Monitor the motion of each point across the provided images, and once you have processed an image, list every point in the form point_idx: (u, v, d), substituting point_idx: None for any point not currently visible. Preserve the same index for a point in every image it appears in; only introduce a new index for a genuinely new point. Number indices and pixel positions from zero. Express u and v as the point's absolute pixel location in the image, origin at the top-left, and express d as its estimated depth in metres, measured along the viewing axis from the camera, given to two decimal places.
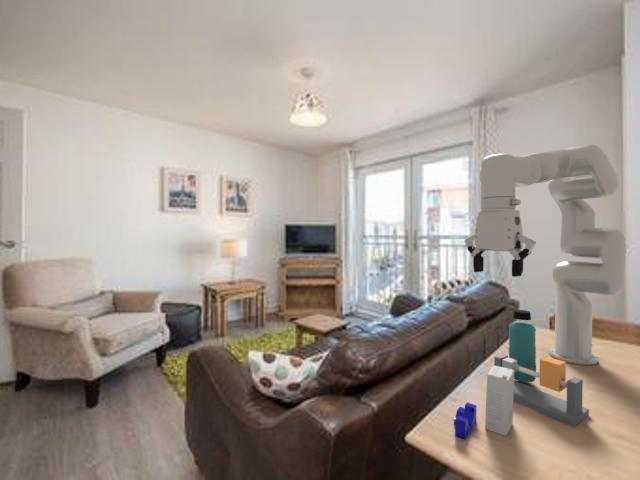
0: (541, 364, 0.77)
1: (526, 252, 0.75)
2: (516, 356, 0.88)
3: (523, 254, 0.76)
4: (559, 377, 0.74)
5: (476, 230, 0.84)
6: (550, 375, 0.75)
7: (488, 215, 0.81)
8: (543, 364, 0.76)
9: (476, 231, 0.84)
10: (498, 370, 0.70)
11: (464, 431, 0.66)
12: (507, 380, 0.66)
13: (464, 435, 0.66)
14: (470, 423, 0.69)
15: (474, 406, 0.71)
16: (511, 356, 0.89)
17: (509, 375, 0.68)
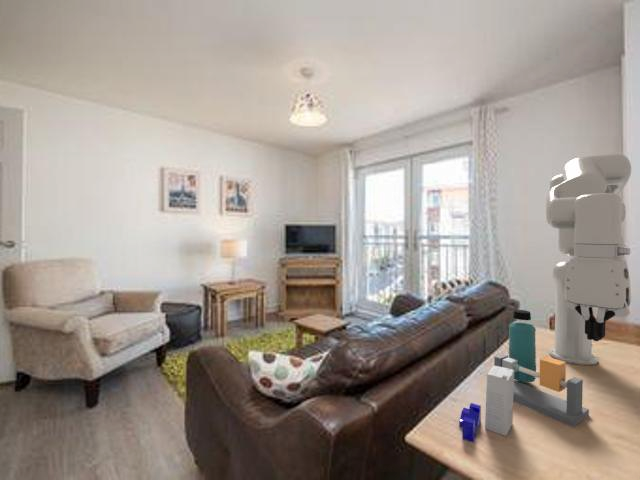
0: (541, 364, 0.77)
1: (611, 315, 0.66)
2: (516, 356, 0.88)
3: (607, 317, 0.66)
4: (559, 377, 0.74)
5: (567, 280, 0.71)
6: (550, 375, 0.75)
7: (586, 265, 0.68)
8: (543, 364, 0.76)
9: (567, 281, 0.71)
10: (498, 370, 0.70)
11: (472, 433, 0.65)
12: (507, 380, 0.66)
13: (472, 437, 0.65)
14: (476, 424, 0.69)
15: (479, 406, 0.71)
16: (511, 356, 0.89)
17: (509, 375, 0.68)
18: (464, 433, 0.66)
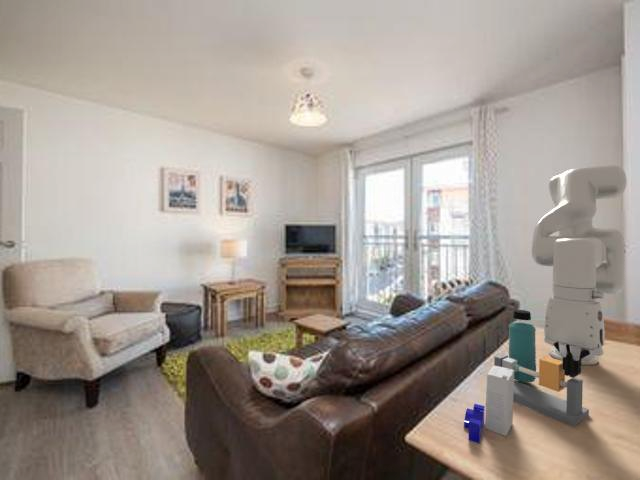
0: (540, 364, 0.77)
1: (586, 354, 0.70)
2: (516, 356, 0.88)
3: (583, 355, 0.70)
4: (558, 377, 0.74)
5: (546, 318, 0.75)
6: (549, 375, 0.75)
7: (564, 305, 0.72)
8: (542, 364, 0.76)
9: (546, 319, 0.75)
10: (498, 370, 0.70)
11: (478, 434, 0.65)
12: (507, 380, 0.66)
13: (478, 438, 0.65)
14: (481, 425, 0.68)
15: (482, 407, 0.71)
16: (511, 356, 0.89)
17: (509, 375, 0.68)
18: (470, 434, 0.65)
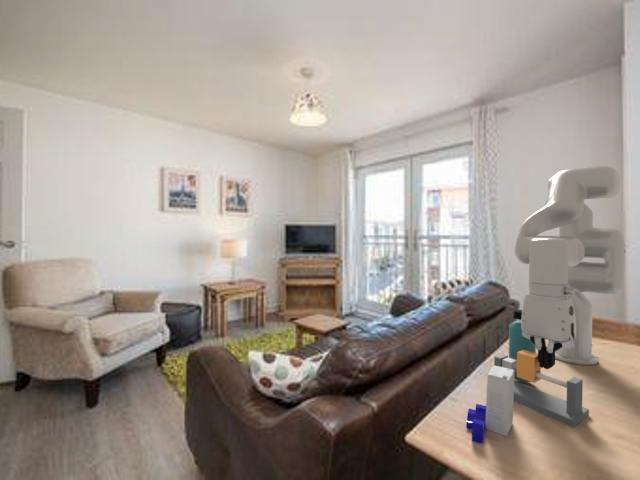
0: (518, 357, 0.81)
1: (559, 347, 0.74)
2: (516, 356, 0.88)
3: (556, 348, 0.75)
4: (534, 369, 0.78)
5: (523, 313, 0.80)
6: (526, 367, 0.80)
7: (538, 301, 0.76)
8: (520, 357, 0.81)
9: (523, 314, 0.79)
10: (499, 370, 0.70)
11: (482, 434, 0.64)
12: (507, 380, 0.66)
13: (481, 438, 0.65)
14: (483, 425, 0.68)
15: (484, 407, 0.71)
16: (511, 356, 0.89)
17: (509, 375, 0.68)
18: (473, 435, 0.65)
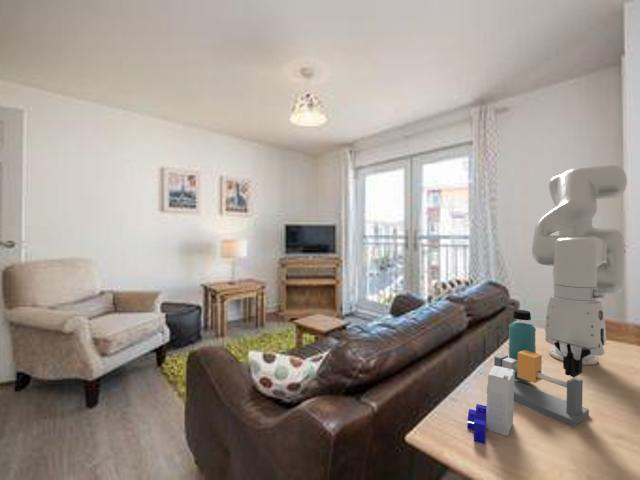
0: (519, 357, 0.81)
1: (587, 353, 0.70)
2: (516, 356, 0.88)
3: (584, 355, 0.70)
4: (535, 369, 0.78)
5: (547, 317, 0.75)
6: (527, 367, 0.79)
7: (564, 305, 0.72)
8: (520, 357, 0.81)
9: (547, 318, 0.75)
10: (499, 370, 0.70)
11: (483, 435, 0.64)
12: (508, 380, 0.66)
13: (483, 439, 0.64)
14: (484, 425, 0.68)
15: (485, 407, 0.71)
16: (511, 356, 0.89)
17: (510, 375, 0.68)
18: (475, 436, 0.65)
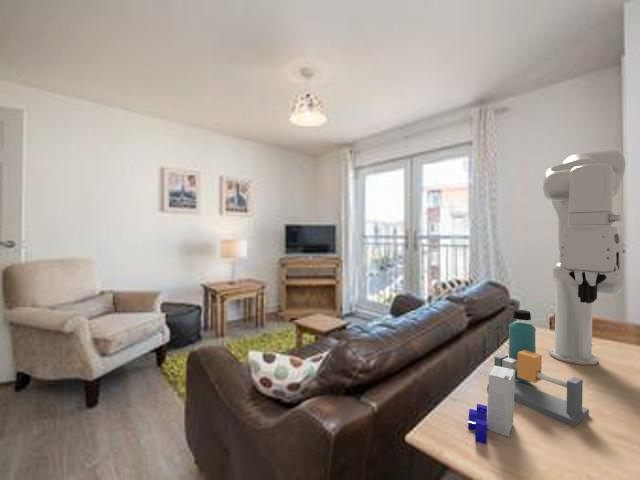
0: (519, 357, 0.81)
1: (603, 278, 0.70)
2: (516, 356, 0.88)
3: (599, 280, 0.71)
4: (535, 369, 0.78)
5: (562, 247, 0.76)
6: (527, 367, 0.79)
7: (580, 232, 0.72)
8: (520, 357, 0.81)
9: (562, 249, 0.76)
10: (500, 370, 0.70)
11: (485, 435, 0.64)
12: (509, 380, 0.66)
13: (485, 439, 0.64)
14: None
15: (485, 407, 0.71)
16: (511, 356, 0.89)
17: (511, 375, 0.68)
18: (477, 436, 0.65)
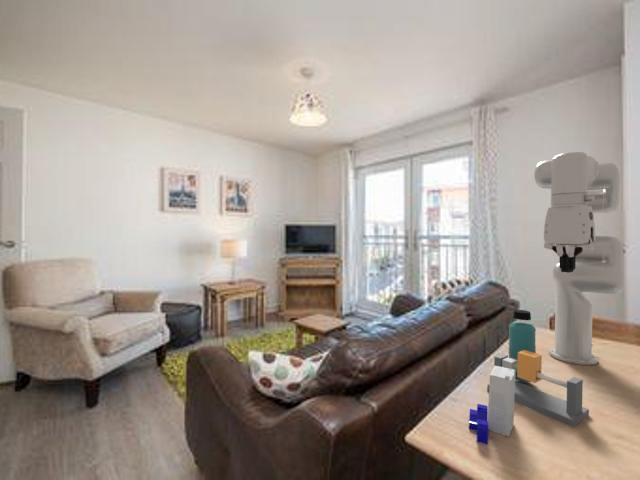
0: (519, 357, 0.81)
1: (580, 250, 0.82)
2: (516, 356, 0.88)
3: (576, 252, 0.83)
4: (535, 369, 0.78)
5: (546, 225, 0.87)
6: (527, 367, 0.79)
7: (560, 211, 0.84)
8: (520, 357, 0.81)
9: (546, 226, 0.87)
10: (500, 371, 0.70)
11: (487, 435, 0.64)
12: (510, 380, 0.66)
13: (486, 439, 0.64)
14: None
15: (486, 407, 0.71)
16: (511, 356, 0.89)
17: (511, 375, 0.68)
18: (478, 436, 0.65)
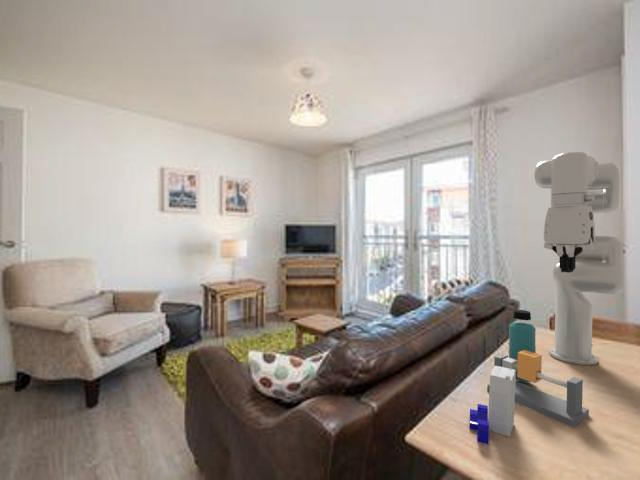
0: (519, 357, 0.81)
1: (580, 250, 0.82)
2: (516, 356, 0.88)
3: (576, 252, 0.83)
4: (535, 369, 0.78)
5: (546, 225, 0.87)
6: (527, 367, 0.79)
7: (560, 211, 0.84)
8: (520, 357, 0.81)
9: (546, 226, 0.87)
10: (500, 371, 0.70)
11: (487, 435, 0.64)
12: (510, 380, 0.66)
13: (487, 439, 0.64)
14: None
15: (486, 407, 0.71)
16: (511, 356, 0.89)
17: (512, 375, 0.68)
18: (479, 436, 0.65)
